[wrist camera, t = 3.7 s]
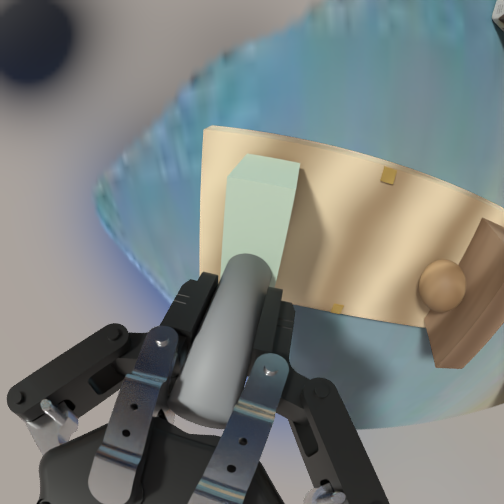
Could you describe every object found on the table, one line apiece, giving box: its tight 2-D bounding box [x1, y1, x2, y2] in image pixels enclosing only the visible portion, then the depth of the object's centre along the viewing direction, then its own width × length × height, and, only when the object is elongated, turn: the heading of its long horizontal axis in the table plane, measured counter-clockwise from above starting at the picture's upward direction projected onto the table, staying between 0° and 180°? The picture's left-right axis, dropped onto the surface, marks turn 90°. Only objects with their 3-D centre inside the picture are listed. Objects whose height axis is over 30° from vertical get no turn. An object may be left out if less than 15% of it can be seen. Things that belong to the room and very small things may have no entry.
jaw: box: [167, 154, 300, 429], centre depth 13 cm, size 3×10×12 cm, turn 172°
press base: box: [200, 126, 504, 369], centre depth 16 cm, size 22×12×6 cm, turn 82°
